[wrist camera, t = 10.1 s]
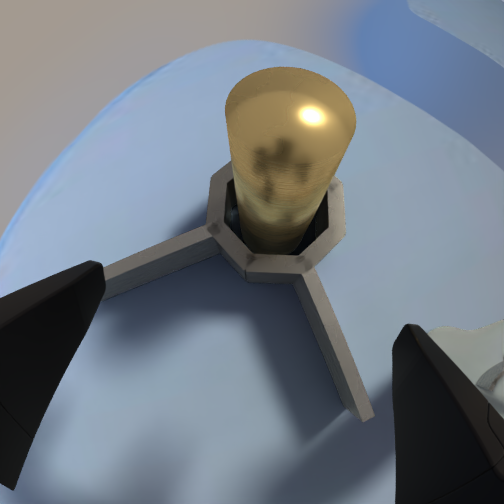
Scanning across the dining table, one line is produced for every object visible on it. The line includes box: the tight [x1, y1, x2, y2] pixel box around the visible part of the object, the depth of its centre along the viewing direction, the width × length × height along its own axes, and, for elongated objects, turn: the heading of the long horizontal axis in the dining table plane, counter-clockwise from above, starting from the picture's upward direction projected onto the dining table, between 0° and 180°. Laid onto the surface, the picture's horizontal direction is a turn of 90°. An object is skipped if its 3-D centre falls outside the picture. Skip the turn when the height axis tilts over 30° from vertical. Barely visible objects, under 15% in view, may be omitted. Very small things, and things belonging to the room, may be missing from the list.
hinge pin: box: [225, 67, 356, 255], centre depth 15 cm, size 4×4×12 cm
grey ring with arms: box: [101, 161, 375, 422], centre depth 18 cm, size 17×18×4 cm
